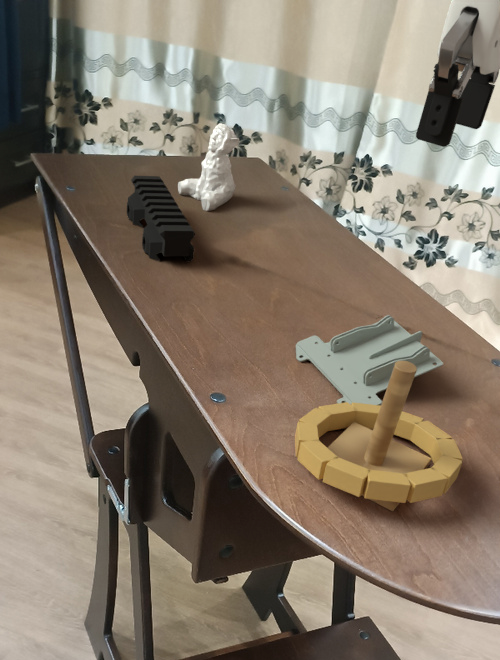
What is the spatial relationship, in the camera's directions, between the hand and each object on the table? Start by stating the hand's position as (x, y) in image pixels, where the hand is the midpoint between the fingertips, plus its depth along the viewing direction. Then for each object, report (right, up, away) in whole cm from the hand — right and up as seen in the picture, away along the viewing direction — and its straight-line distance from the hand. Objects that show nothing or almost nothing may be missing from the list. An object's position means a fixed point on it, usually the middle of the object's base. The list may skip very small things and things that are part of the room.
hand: (448, 133), depth 70 cm
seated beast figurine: (-24, +16, +53) cm, 61 cm away
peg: (-7, -33, +2) cm, 33 cm away
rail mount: (-32, +5, +39) cm, 51 cm away
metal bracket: (-4, -21, +16) cm, 27 cm away
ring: (-7, -31, +2) cm, 32 cm away
